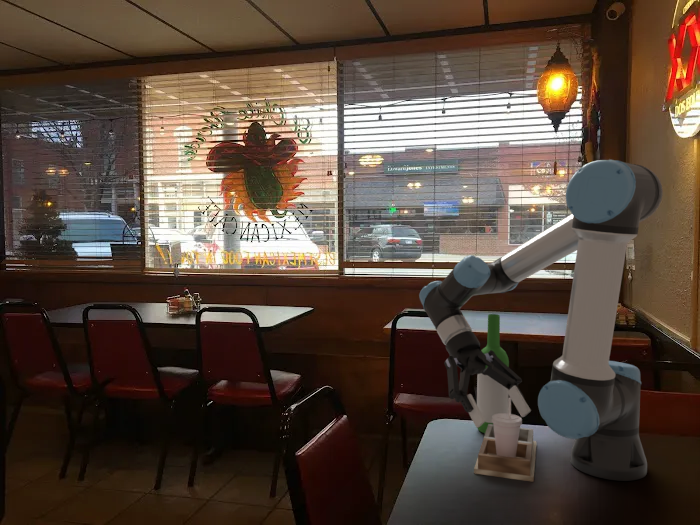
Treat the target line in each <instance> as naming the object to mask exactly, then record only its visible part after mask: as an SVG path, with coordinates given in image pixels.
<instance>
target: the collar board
mask: <svg viewBox="0 0 700 525" xmlns="http://www.w3.org/2000/svg"><path fill="white" fill-rule="evenodd" d="M536 456H537V441H536V440H534V428H529V427H528V428H527V427H526V428H525V427H520V432H519V438H518V445H517V451H516V458H512V457H504V456H497V453H496V444H495V435H494V425H493V424H488V427H487V430H486V433H485V434H484V436H483V439H482V442H481V445H480V447H479V450H478V454H477V459H476V462H475V465H474V468H473V474H475V475H484V476H488V477H489V476H490V477H498V478H505V479H511V480H518V481H525V482H531V483H534V481H535V480H534V479H535V467H536Z"/></svg>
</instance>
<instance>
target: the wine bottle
mask: <svg viewBox="0 0 700 525" xmlns="http://www.w3.org/2000/svg"><path fill="white" fill-rule="evenodd" d="M500 317H501V316H500V314H497V313H490V314H488V315H487V344H486V346H485V347H483V348H482V349H481V351H482V352H483V353H484V354H486V353H488V352H489V351H490V350H492V351H494V353H495V354H496V356H497V357H498V358H499V359H500V360H501V361H502V362H503V363H504V364H506V365H507V366H508V367H509V368H510V361H509V360H510V359H509V357H508V354H507V352H506V351H505V350H504V349H503V348H502V347H501V345H500V339H501V338H500V337H501V336H500V331H501V330H500V329H501V328H500V325H501V324H500V322H501V321H500V320H501V318H500ZM487 367H488V366H487V365H486V368H487ZM486 368H485V369H486ZM476 375H477V378H476V380H477V381H476V382H477V383H476V384H477V385H476V386H477V387H476V404H477V406H478V408H479V410H480V411H481V413H482V415H483V417H484V419H485V422H484V423H483V424H482V425H481V426H480V427H478V428H477V430H478V431H479V432H481V433H482V434H484V435H485V433H486V430H487V427H488V424H493V422H492V416H493V415H494V414H498V413H508V402H509V394H508V393H507V392H508V391H509V389H507V388H506V387H504V386H503V385H501V384H500V383H498V382H497V381H495V380H494V379H492V378H491V377H489V376H488V375H483V374H482V373H481V374H476Z"/></svg>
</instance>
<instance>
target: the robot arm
mask: <svg viewBox="0 0 700 525" xmlns="http://www.w3.org/2000/svg"><path fill="white" fill-rule="evenodd" d="M662 198H663V186H662V183H661V179H660V178H659V177H658V176H657V173H655V172H654V171H653V170H651V169H650V168H648V167H646V166H643V165H641V164H635V163H629V162H625V161H621V160H618V159H617V160H614V159H600V160H594V161H591V162H588V163H586V164H584V165H582V167H580V168H579V169H578V170H576V171H575V173H574V174H573V175H572V177H571V178H570V179H569V182H568V184H567V186H566V189H565V203H566V206H567V208H568V209H569V211H570V212H571V214H569V215H568V216H566V217H565V218H563V219H560V220H559V221H558V222H556V223H554V224H553V225H552V226H549V227H548V228H547V229H544V230H543V231H541V232H540V233H538V234H537V235H535V236H533V237H532V238H530V239H528V240H526V241H525V242H523V243H521V244H520V245H519V246H516V247H515V248H513V249H512V250H509V251H508V252H507V253H505V254H503V255H502V256H500V257H499V258H497V259H496V260H493V261H492V262H488V263H487V262H485V261H484V260H483V259H482V258H481V257H478V256H475V255H473V254H469V255H466V256H464V257H463V258H462V259H461V260H460V261H459V262H457V264H455V266H454V268H453V269H452V270H451V271H450V272H449V273H448V274H447V275H446V277H445V278H444V280H442V281H441V280H435V281H431V282H430V283H428V284H427V285H424V286H423V287H422V289H421V290H420V292H419V294H418V296H419V297H418V298H419V301H420V303H421V305H422V307H423V310H424V312H425V313H426V314H427V316H428V318H429V319H430V321H431V323H432V324H433V326H434V329H435V330H436V332H437V334H438V336H439V338H440V340H441V342H442V343H443V345H444V346H445V349H446V351H447V352H448V355H449V356H448V357H447V358H446V360H445V361H444V362H443V364H444V367H445V369H446V374H447V388H448V397H449V399H451V400H455V402H456V403H461V405H462V407H463V409H464V411H465V412H466V413H467V414H468V415H469V417H470V419H471V420H472V422H473V424H474V426H475V428H476V429H478V427H480V426H481V425H482V424H483V423H484V422H485V419H484V417H483V415H482V413H481V411H480V410H479V408H478V406H477V401H476V400H475V399H474V397H473V395H472V394H471V393H469V394H468V390H469V383H470V378H471V376H474V375H477V374H481V373H482V374H483V375H488V376H489V377H491V378H492V379H494V380H495V381H497V382H498V383H500V384H501V385H503V386H504V387H506V388H507V389H508V392H507V393H508V397H509V398H511V402H512V403H513V405H514V406H515V408H516V410H517V412H518V414H520V417H521V418H524V417H526V416H527V415H528V414H529V413H531V411H532V409H531V408H530V407H529V405H528V403H527V401H526V400H525V396H524V394H523V393H522V391H521V389H520V387H519V385H520V384H521V383H522V382H523V379H522V378H521V377H520V376H519V375H518V374H517V373H515V372H514V371H513V369H511V368H510V366H509V367H508V366H507V365H506V364H504V363H503V362H502V361H501V360H500V359H499V358H498V357H497V356H496V354H495V353H494V351H492V350H490V351H489V352H488V353H486V354H484V353H483V352H482V349H481V343H480V341H479V339H478V337H477V336H476V334H475V333H474V332H473V330H472V327H471V326H470V324H469V322H468V320H467V319H466V317H465V315H464V314H463V312H462V310H461V308H462V307H463V306H464V305H465V304H466V303H468V301H469V300H470V299H471V298H472V297H474V296H479V295H487V294H488V295H490V294H505V293H507V292H509V291H512V290H514V289H516V287H517V286H518V285H519V283H520V282H522V281H523V280H525V279H527V278H529V277H531V276H532V275H534V274H537V273H538V272H539V271H542V270H543V269H546V268H547V267H549V266H551V265H552V264H553V265H554V263H557V262H558V261H560V260H562V259H563V258H565V257H567V256H569V255H571V254H573V253H574V252H576V257H575V263H574V270H573V278H572V285H571V291H570V297H569V298H570V299H569V306H568V313H567V319H566V326H565V334H564V341H563V349H562V355H561V356H560V357H558V358H557V359H555V360H554V361H553V363H552V368H551V376H550V381H548V382H547V383H546V384H545V385H543V386H542V387H541V389H540V391H539V393H538V396H537V406H538V410H539V414H540V416H541V418H542V419H543V420H544V421H545V423H546V425H547V427H548V428H549V429H550V430H551V431H552V432H554V433H555V434H557V435H558V436H560V437H563V438H567V439H570V440H574V442H573V444H572V447H571V450H570V464H571V465H572V466H573V467H574V468H575V469H577V470H579V471H580V472H582V473H584V474H586V475H590V476H593V477H596V478H600V479H605V480H610V481H623V482H627V481H636V480H640V479H643V478H645V477H646V475H648V474H647V473H648V462H647V458H646V455H645V451H644V448H643V445H642V442H641V439H640V413H641V412H640V410H641V408H640V406H641V386H642V381H641V371H640V369H639V368H638V367H637V366H635V365H634V364H630V363H626V362H619V361H615V360H610V356H611V350H612V344H613V338H614V330H615V324H616V318H617V311H618V305H619V297H620V293H621V285H622V279H623V273H624V266H625V259H626V258H625V257H626V252H627V247H628V246H627V245H628V244H629V242H631V241H632V240H634V239H635V238H637V236H638V233H639V227H640V223H641V222H643V221H645V220H646V219H648V218H650V217H651V216H652V215H653V214H655V212H656V211H657V210H658V208H659V207H660V204H661V202H662ZM486 365H487V366H488V367H487V368H486ZM458 368H460V372H458ZM485 368H486V369H485ZM458 373H459V374H458Z"/></svg>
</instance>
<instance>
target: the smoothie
mask: <svg viewBox="0 0 700 525" xmlns="http://www.w3.org/2000/svg"><path fill="white" fill-rule="evenodd" d="M522 418H523V417H521V416H519V415H516V414H514V413H512V400H511V398H510V397H508V413H498V414H494V415H493V416H492V422H493V425H494V435H495V444H496V453H497V456H504V457H512V458H516V451H517V445H518V438H519V432H520V428H521V426H522V424H523V419H522Z"/></svg>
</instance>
